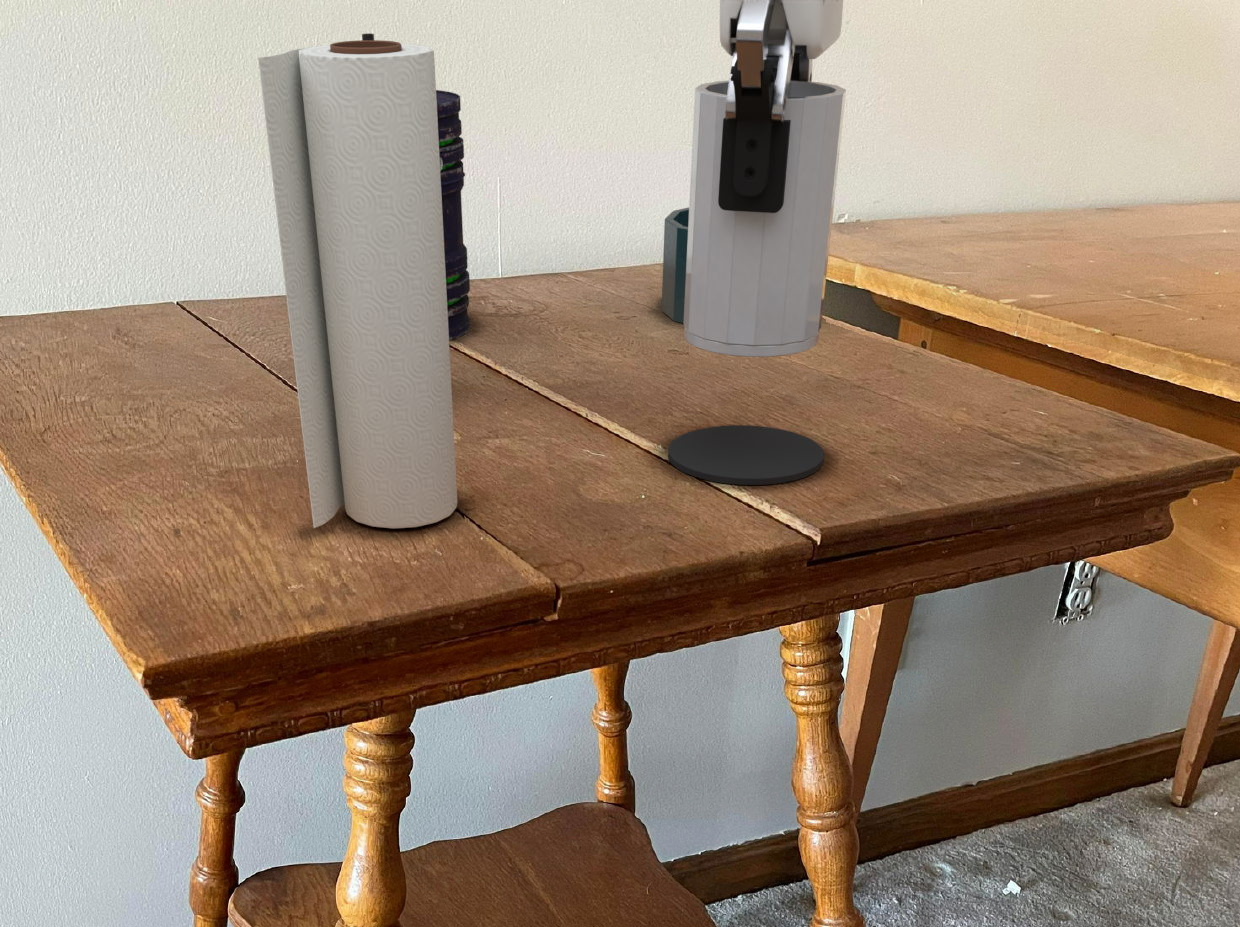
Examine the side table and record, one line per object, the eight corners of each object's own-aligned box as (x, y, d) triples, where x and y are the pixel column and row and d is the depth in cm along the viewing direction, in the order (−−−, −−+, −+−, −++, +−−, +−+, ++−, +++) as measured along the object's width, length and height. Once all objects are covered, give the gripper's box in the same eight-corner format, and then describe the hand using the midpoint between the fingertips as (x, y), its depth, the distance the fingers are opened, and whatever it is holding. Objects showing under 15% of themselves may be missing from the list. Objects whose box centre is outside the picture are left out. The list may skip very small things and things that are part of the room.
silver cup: (826, 325, 78) (852, 81, 71) (809, 362, 73) (836, 101, 66) (698, 316, 80) (711, 77, 73) (671, 351, 74) (683, 95, 67)
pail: (818, 297, 109) (827, 207, 105) (799, 335, 101) (808, 238, 97) (679, 288, 112) (683, 200, 108) (649, 324, 103) (652, 230, 99)
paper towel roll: (463, 490, 76) (441, 36, 63) (451, 533, 72) (425, 51, 59) (333, 489, 77) (285, 36, 64) (313, 531, 72) (257, 51, 59)
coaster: (831, 438, 83) (832, 432, 83) (812, 492, 76) (813, 485, 76) (684, 426, 85) (685, 419, 85) (652, 477, 78) (653, 470, 78)
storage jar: (374, 306, 108) (356, 85, 99) (491, 316, 105) (484, 91, 96) (315, 339, 100) (289, 104, 91) (439, 352, 98) (425, 111, 89)
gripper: (863, -258, 54) (813, 234, 65) (898, -235, 67) (853, 169, 78) (674, -255, 56) (657, 225, 66) (745, -233, 69) (721, 163, 80)
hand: (763, 192), depth 72 cm, fingers closed on silver cup, 7 cm apart
